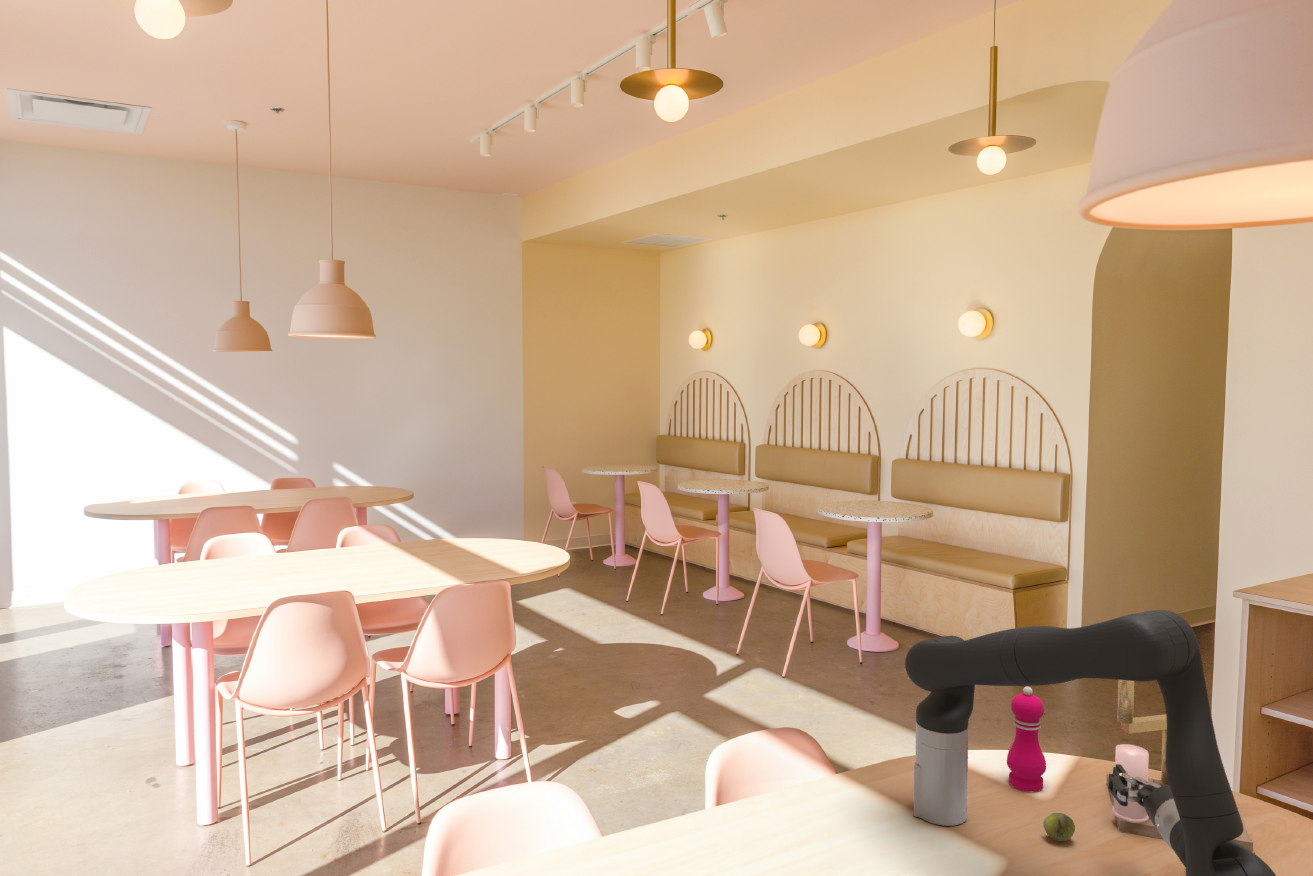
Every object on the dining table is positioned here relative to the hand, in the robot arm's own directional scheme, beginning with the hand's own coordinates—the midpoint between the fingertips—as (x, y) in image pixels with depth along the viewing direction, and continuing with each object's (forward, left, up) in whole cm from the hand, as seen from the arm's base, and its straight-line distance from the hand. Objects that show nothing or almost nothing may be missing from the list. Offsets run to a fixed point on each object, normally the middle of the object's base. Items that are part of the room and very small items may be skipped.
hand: (1145, 772), depth 143 cm
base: (+7, +18, -15) cm, 24 cm away
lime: (-13, +1, -15) cm, 20 cm away
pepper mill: (-18, +21, -15) cm, 31 cm away
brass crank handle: (+4, +21, -11) cm, 25 cm away
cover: (-1, +10, -13) cm, 16 cm away
